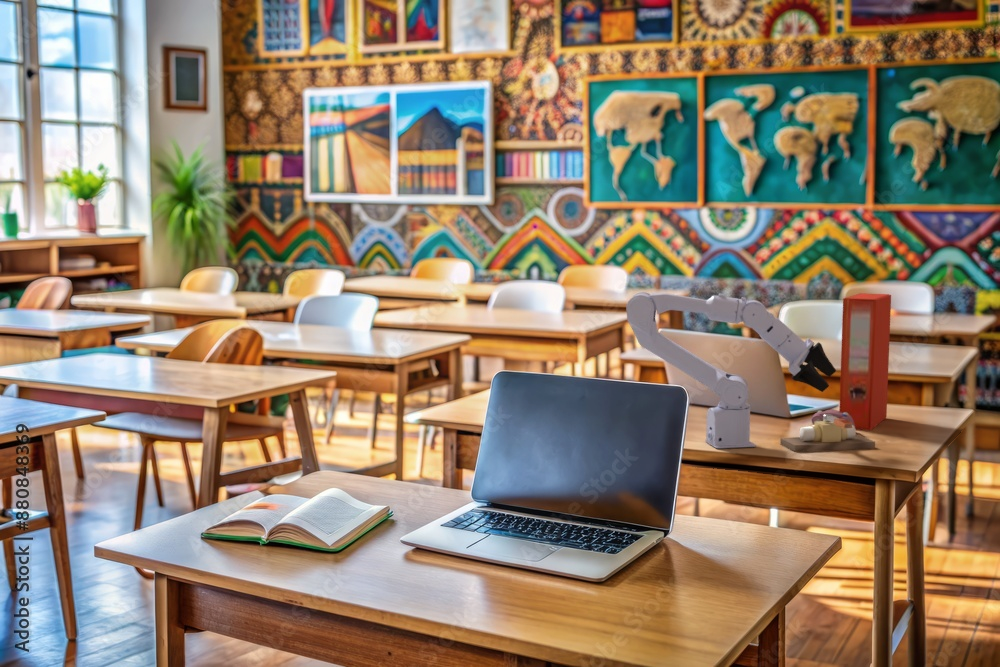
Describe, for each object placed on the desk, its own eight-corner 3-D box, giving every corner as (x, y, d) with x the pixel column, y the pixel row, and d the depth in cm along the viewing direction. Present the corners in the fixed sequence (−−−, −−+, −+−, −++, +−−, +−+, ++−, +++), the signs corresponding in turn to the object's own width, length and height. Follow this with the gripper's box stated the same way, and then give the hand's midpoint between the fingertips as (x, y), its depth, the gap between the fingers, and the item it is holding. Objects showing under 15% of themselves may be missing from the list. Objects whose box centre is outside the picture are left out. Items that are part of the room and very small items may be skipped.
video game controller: (811, 437, 263) (809, 414, 259) (815, 426, 266) (812, 403, 263) (853, 441, 258) (851, 418, 255) (856, 429, 262) (855, 406, 258)
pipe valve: (806, 445, 243) (806, 425, 242) (798, 441, 247) (798, 422, 247) (856, 442, 244) (857, 423, 244) (847, 438, 249) (848, 420, 248)
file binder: (887, 418, 278) (891, 294, 274) (872, 430, 263) (876, 299, 260) (855, 415, 282) (858, 293, 278) (838, 427, 267) (841, 298, 264)
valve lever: (821, 420, 246) (821, 413, 246) (829, 420, 246) (830, 413, 246) (843, 430, 235) (843, 423, 235) (852, 429, 236) (852, 422, 235)
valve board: (794, 452, 241) (794, 445, 240) (780, 444, 248) (780, 438, 248) (875, 448, 243) (875, 441, 243) (858, 440, 251) (858, 434, 251)
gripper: (787, 342, 236) (834, 385, 235) (802, 316, 247) (848, 356, 246) (766, 362, 240) (812, 403, 239) (782, 335, 252) (826, 375, 251)
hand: (829, 381), depth 243 cm, fingers open, 7 cm apart
